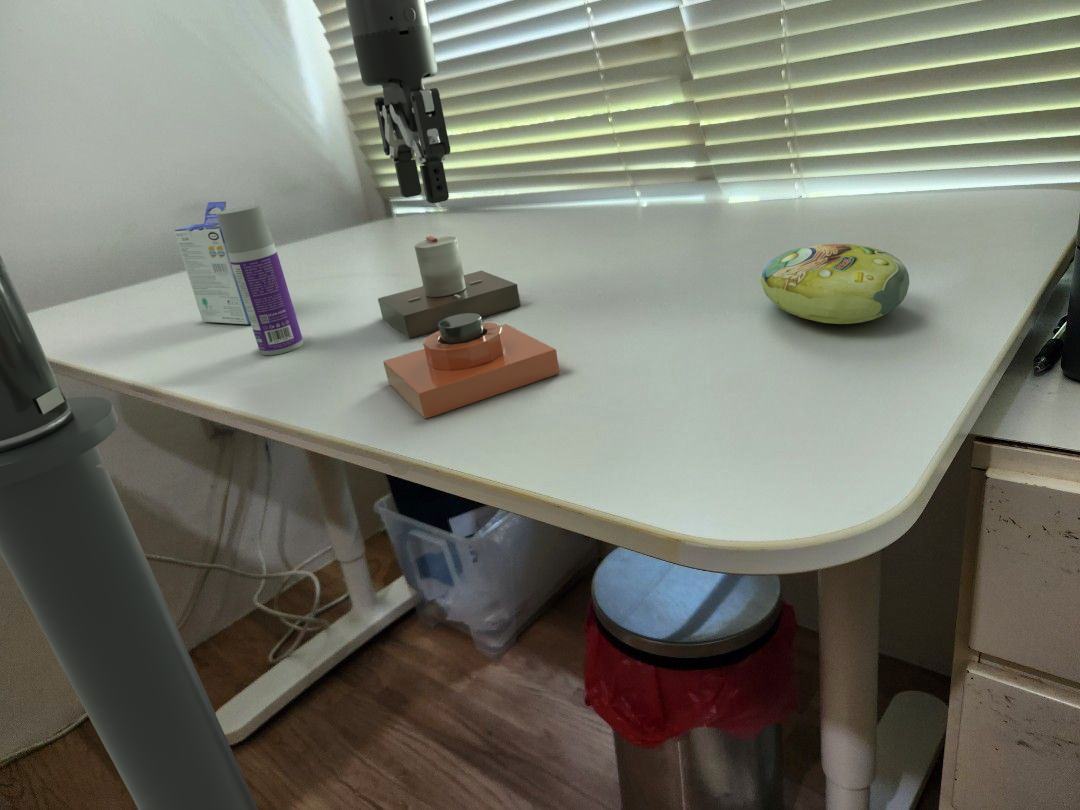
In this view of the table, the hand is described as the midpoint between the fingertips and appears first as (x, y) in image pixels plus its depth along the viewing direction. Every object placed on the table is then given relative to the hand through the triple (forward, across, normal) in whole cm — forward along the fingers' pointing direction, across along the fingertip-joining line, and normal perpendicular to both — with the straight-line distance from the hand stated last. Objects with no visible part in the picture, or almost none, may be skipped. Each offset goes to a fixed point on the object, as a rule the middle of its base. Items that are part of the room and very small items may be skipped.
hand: (424, 198), depth 79 cm
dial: (+10, 0, 0) cm, 10 cm away
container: (+13, -5, -18) cm, 23 cm away
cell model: (+12, +32, +24) cm, 42 cm away
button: (+9, +21, -6) cm, 24 cm away
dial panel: (+13, 0, 0) cm, 13 cm away
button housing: (+13, +21, -6) cm, 25 cm away
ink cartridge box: (+13, -24, -20) cm, 34 cm away
